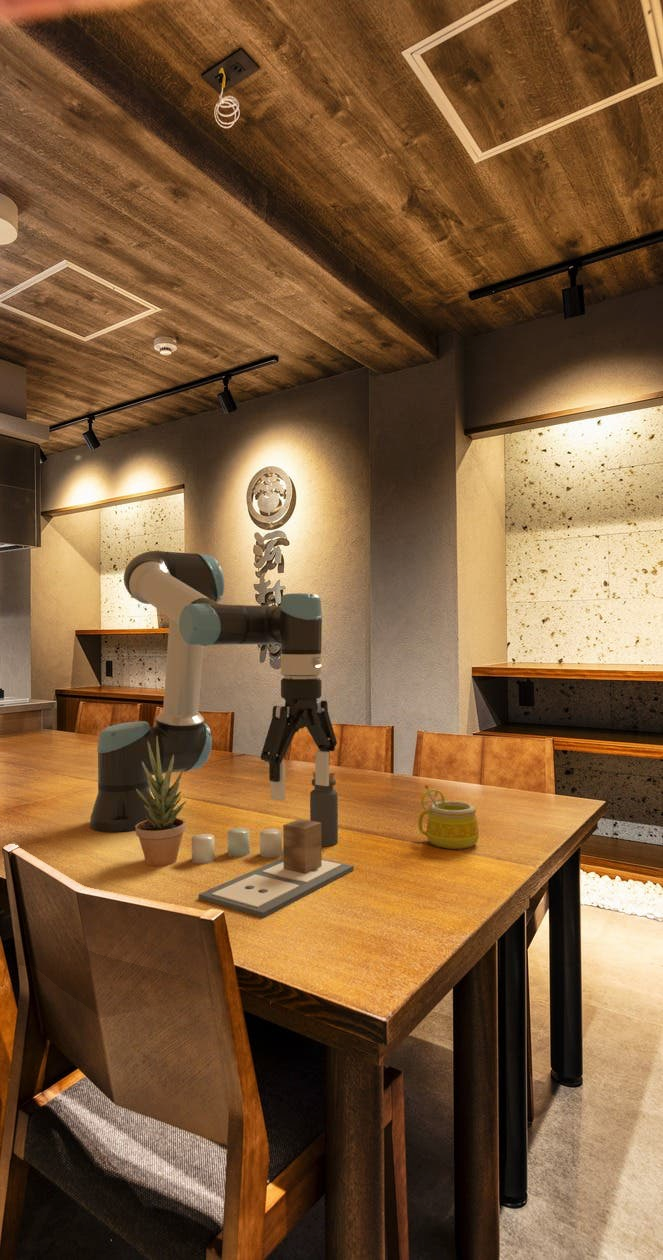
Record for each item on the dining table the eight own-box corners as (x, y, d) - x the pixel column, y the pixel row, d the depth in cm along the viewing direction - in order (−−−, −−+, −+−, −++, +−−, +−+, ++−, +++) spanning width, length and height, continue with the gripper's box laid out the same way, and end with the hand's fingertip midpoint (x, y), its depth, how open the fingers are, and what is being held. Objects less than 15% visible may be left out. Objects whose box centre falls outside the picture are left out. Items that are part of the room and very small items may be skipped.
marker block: (283, 868, 124) (283, 824, 124) (300, 861, 128) (299, 818, 128) (305, 873, 121) (305, 828, 121) (321, 866, 125) (321, 822, 126)
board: (198, 898, 113) (198, 892, 113) (294, 856, 134) (293, 851, 134) (263, 917, 105) (263, 910, 105) (353, 870, 126) (353, 864, 126)
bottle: (335, 847, 140) (334, 774, 140) (307, 845, 141) (307, 773, 142) (340, 839, 146) (339, 769, 146) (313, 837, 147) (313, 768, 147)
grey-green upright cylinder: (223, 854, 136) (223, 831, 136) (237, 848, 140) (237, 826, 140) (239, 858, 134) (239, 835, 134) (254, 852, 138) (254, 829, 138)
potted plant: (132, 857, 135) (132, 733, 135) (180, 850, 139) (180, 730, 139) (139, 872, 126) (138, 739, 126) (190, 865, 129) (189, 736, 130)
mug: (484, 839, 145) (483, 783, 145) (472, 854, 135) (471, 794, 135) (426, 833, 150) (425, 778, 150) (410, 847, 140) (410, 788, 140)
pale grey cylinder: (186, 861, 132) (186, 837, 132) (203, 855, 136) (202, 832, 136) (203, 865, 130) (203, 841, 130) (219, 858, 133) (219, 836, 134)
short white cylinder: (255, 855, 135) (255, 832, 136) (269, 849, 139) (269, 827, 139) (272, 859, 133) (272, 836, 133) (286, 853, 137) (286, 830, 137)
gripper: (274, 682, 113) (273, 809, 113) (354, 674, 133) (354, 782, 133) (240, 680, 117) (240, 802, 117) (323, 673, 138) (323, 777, 138)
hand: (300, 792), depth 125 cm, fingers open, 13 cm apart
